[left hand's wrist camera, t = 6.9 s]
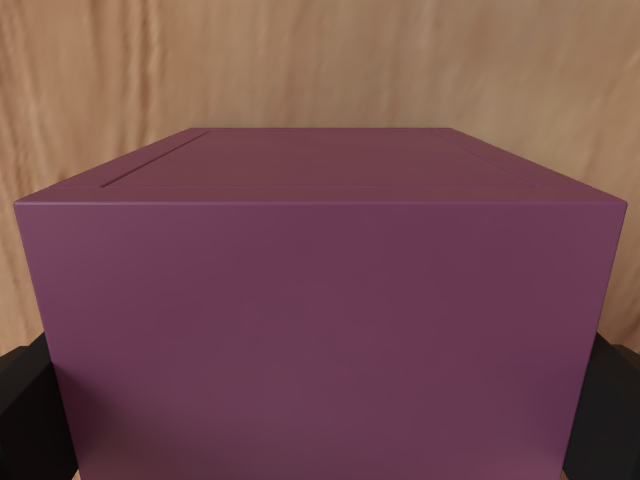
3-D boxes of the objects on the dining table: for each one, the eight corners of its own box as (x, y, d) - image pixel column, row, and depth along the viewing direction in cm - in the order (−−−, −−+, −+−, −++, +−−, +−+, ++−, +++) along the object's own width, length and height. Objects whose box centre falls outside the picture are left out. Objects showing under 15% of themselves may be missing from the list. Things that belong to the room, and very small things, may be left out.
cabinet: (419, 453, 23) (495, 745, 13) (221, 453, 23) (145, 744, 13) (452, 127, 18) (631, 201, 7) (189, 127, 18) (9, 201, 7)
